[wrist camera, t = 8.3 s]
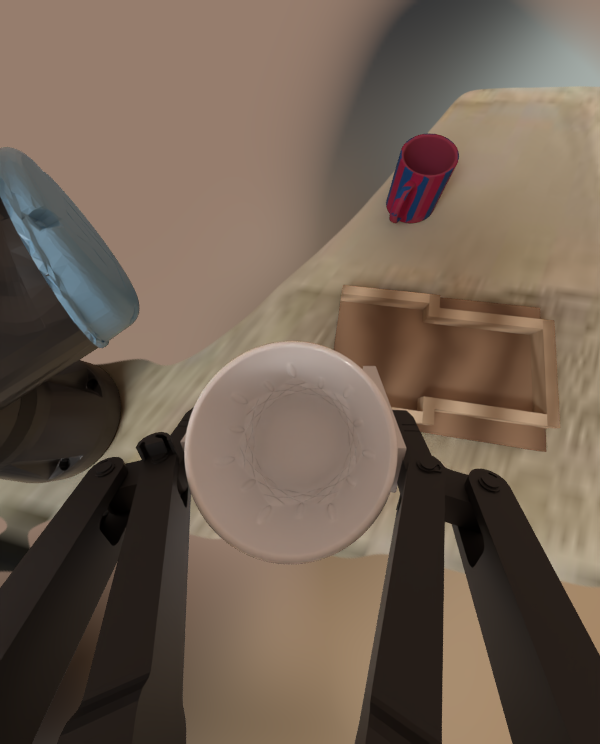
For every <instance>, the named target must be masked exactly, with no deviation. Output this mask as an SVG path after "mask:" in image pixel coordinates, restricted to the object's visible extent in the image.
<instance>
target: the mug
mask: <svg viewBox="0 0 600 744" xmlns="http://www.w3.org/2000/svg"><path fill="white" fill-rule="evenodd" d="M458 159H459V153H458V150H457V147H456V146H455V145H454V143H453V142H452V141H450V140H449V139H448V138H446V137H444V136H441V135H437V134H422V135H418V136H415V137H413V138H411V139H410V140H408V141H407V142H406V143H405V144H404V146H403V147H402V150H401V153H400V156H399V159H398V163H397V166H396V170H395V173H394V176H393V180H392V183H391V187H390V190H389V194H388V197H387V202H386V205H387V209H388V211H389V213H390V221H391V222H393V223H397V222H399V221H401V222H405V223H417V222H420V221H423V220H425V219H426V218H427V217H429V216H430V215H431V213H432V212H433V210H434V208H435V206H436V204H437V202H438V200H439V198H440V196H441V194H442V192H443V190H444V188H445V186H446V184H447V182H448V180H449V178H450V176H451V174H452V172H453V171H454V169H455V167H456V165H457V163H458Z"/></svg>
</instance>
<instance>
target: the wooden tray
mask: <svg viewBox="0 0 600 744" xmlns="http://www.w3.org/2000/svg"><path fill="white" fill-rule="evenodd" d="M334 350H335V351H337V352H339V353H341V354H342V355H344V356H346V357H347V358H349V359H350V360H352V361H353V362H354V363H356V364H357V365H358V366H359V367H360V368H362V369H363V366H376V368H377V371H378V374H379V376H380V379H381V382H382V384H383V387H384V390H385V392H386V395H387V398H388V400H389V403H390V406H391V408H392V410H406V411H408V412H409V413H410V414H411V415H412V416H413V417H414V419H415V421H416V424H417V426H418V428H419V430H420V432H424V433H430V434H437V435H443V436H449V437H455V438H461V439H468V440H474V441H480V442H486V443H492V444H499V445H505V446H511V447H517V448H523V449H530V450H536V451H544V452H546V432H545V428H560V414H559V396H558V379H557V361H556V343H555V326H554V320H545V319H541V318H540V308H536V307H526V306H517V305H507V304H498V303H488V302H479V301H469V300H460V299H450V298H441V297H440V295H435V294H425V293H416V292H406V291H396V290H387V289H377V288H368V287H358V286H348V285H343V288H342V295H341V302H340V309H339V316H338V323H337V330H336V337H335V344H334Z"/></svg>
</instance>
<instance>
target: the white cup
mask: <svg viewBox="0 0 600 744" xmlns="http://www.w3.org/2000/svg"><path fill="white" fill-rule="evenodd" d="M397 456H398V447H397V436H396V430H395V425H394V421H393V418H392V415H391V412H390V409H389V407H388V404H387V402H386V400H385V398H384V396H383V395H382V393H381V391H380V390H379V388H378V387H377V385H376V384H375V383H374V381H373V380H372V379H371V378H370V377H369V375H368V374H367V373H366V372H365V371H364V370H363V369H362V368H360V367H359V366H358V365H357V364H356V363H354V362H353V361H352V360H350V359H349V358H347V357H346V356H344V355H342V354H341V353H339V352H337V351H335V350H332V349H330V348H327V347H325V346H321V345H318V344H314V343H309V342H301V341H283V342H275V343H270V344H266V345H262V346H259V347H256V348H254V349H251V350H249V351H247V352H245V353H243V354H241V355H239V356H238V357H236V358H235V359H233V360H232V361H230V362H229V363H228V364H226V365H225V366H224V367H223V368H222V369H221V370H220V371H218V372H217V373H216V375H215V376H214V377H213V378H212V379H211V380H210V381H209V383H208V384H207V385H206V387H205V388H204V390H203V391H202V393H201V394H200V396H199V398H198V400H197V402H196V404H195V406H194V408H193V411H192V413H191V416H190V419H189V423H188V427H187V431H186V437H185V447H184V460H185V470H186V476H187V481H188V485H189V488H190V491H191V494H192V497H193V499H194V501H195V503H196V505H197V507H198V509H199V511H200V513H201V514H202V516H203V517H204V519H205V520H206V522H207V523H208V524H209V526H210V527H211V528H212V529H213V530H214V531H215V532H216V533H217V534H218V535H219V536H220V537H221V538H222V539H223V540H225V541H226V542H227V543H228V544H230V545H231V546H232V547H234V548H235V549H237V550H239V551H241V552H243V553H244V554H246V555H249V556H251V557H253V558H256V559H259V560H263V561H266V562H271V563H277V564H303V563H309V562H314V561H317V560H321V559H324V558H327V557H329V556H332V555H334V554H336V553H338V552H340V551H341V550H343V549H345V548H346V547H348V546H349V545H351V544H352V543H354V542H355V541H356V540H357V539H358V538H360V537H361V536H362V535H363V534H364V533H365V532H366V531H367V530H368V529H369V528H370V526H371V525H372V524H373V523H374V521H375V520H376V519H377V517H378V516H379V514H380V512H381V511H382V509H383V507H384V505H385V503H386V501H387V499H388V497H389V494H390V492H391V489H392V486H393V482H394V478H395V474H396V468H397Z"/></svg>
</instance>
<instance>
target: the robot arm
mask: <svg viewBox="0 0 600 744" xmlns="http://www.w3.org/2000/svg"><path fill="white" fill-rule="evenodd" d="M138 314H139V301H138V297H137V295H136V292H135V290H134V288H133V286H132V284H131V282H130V280H129V278H128V277H127V275H126V273H125V272H124V270H123V269H122V267H121V265H120V264H119V262H118V261H117V259H116V258H115V256H114V255H113V253H112V252H111V251H110V249H109V248H108V246H107V245H106V243H105V242H104V241H103V239H102V238H101V237H100V235H99V234H98V233H97V231H96V230H95V229H94V227H93V226H92V225H91V224H90V222H89V221H88V220H87V219H86V217H85V216H84V215H83V214H82V212H81V211H80V210H79V209H78V207H77V206H76V205H75V204H74V203H73V201H72V200H71V199H70V198H69V197H68V196H67V195H66V194H65V192H64V191H63V190H62V189H61V188H60V187H59V186H58V184H57V183H56V182H55V181H54V180H53V179H52V178H51V177H50V176H49V175H48V174H46V173H45V172H43V171H42V170H41V169H40V167H39V166H38V165H37V164H36V163H35V162H34V161H33V160H32V159H31V158H29V157H28V156H27V155H26V154H24V153H23V152H21V151H19V150H17V149H14V148H10V147H4V148H0V479H5V480H11V481H18V482H25V483H44V482H50V481H56V480H61V479H66V478H69V477H72V476H75V475H77V474H79V473H81V472H83V471H84V470H86V469H87V468H89V467H90V466H91V465H93V464H94V463H95V462H96V461H97V460H98V459H99V458H100V457H101V456H102V455H103V453H104V452H105V451H106V449H107V448H108V446H109V445H110V443H111V441H112V439H113V437H114V435H115V433H116V430H117V427H118V424H119V419H120V410H121V405H120V396H119V392H118V389H117V387H116V385H115V383H114V381H113V380H112V378H111V377H110V376H109V375H108V374H107V373H106V372H105V371H104V370H103V369H101V368H100V367H98V366H96V365H93V364H91V363H87V362H84V361H81V360H80V359H81V358H83V357H84V356H86V355H87V354H89V353H91V352H92V351H94V350H95V349H97V348H98V347H99V348H104V347H106V346H107V345H108V343H109V340H111V339H112V338H113V337H115V336H116V335H118V334H119V333H120V332H122V331H123V330H124V329H126V328H127V327H129V326H130V325H131V324H133V323H134V321H135V320H136V319H137V317H138ZM363 370H364V371H365V372H366V373H367V374H368V375H369V377H370V378H371V379H372V380H373V381H374V383H375V384H376V385H377V387H378V388H379V390H380V391H381V393H382V395H383V396H384V398H385V400H386V402H387V404H388V407H389V409H390V412H391V415H392V418H393V421H394V425H395V430H396V436H397V447H398V456H397V468H396V474H395V478H394V482H393V486H392V489H391V492H396V489H397V485H398V487H399V491H400V497H399V501H398V505H397V509H396V510H397V513H396V518H395V524H394V530H393V535H392V541H391V547H390V552H389V558H388V564H387V570H386V575H385V581H384V586H383V592H382V598H381V604H380V609H379V615H378V620H377V626H376V632H375V637H374V643H373V649H372V654H371V660H370V665H369V671H368V677H367V682H366V688H365V694H364V699H363V705H362V711H361V716H360V721H359V726H358V731H357V735H356V740H355V744H442V670H443V601H444V531H445V522H448V523H451V524H452V527H453V530H454V534H455V538H456V541H457V545H458V549H459V552H460V556H461V559H462V563H463V567H464V570H465V574H466V577H467V581H468V584H469V588H470V591H471V595H472V599H473V602H474V606H475V610H476V613H477V617H478V621H479V624H480V627H481V631H482V635H483V639H484V642H485V646H486V650H487V653H488V657H489V660H490V664H491V667H492V671H493V675H494V678H495V682H496V685H497V689H498V693H499V696H500V700H501V704H502V707H503V711H504V714H505V718H506V722H507V725H508V729H509V732H510V736H511V740H512V743H513V744H600V655H599V653H598V652H597V649H596V648H595V646H594V644H593V642H592V640H591V638H590V636H589V634H588V633H587V631H586V629H585V627H584V625H583V623H582V621H581V619H580V618H579V616H578V614H577V612H576V610H575V608H574V606H573V605H572V603H571V601H570V599H569V597H568V595H567V593H566V591H565V590H564V588H563V586H562V584H561V582H560V580H559V578H558V576H557V574H556V573H555V571H554V569H553V567H552V565H551V563H550V561H549V559H548V558H547V556H546V554H545V552H544V550H543V548H542V546H541V544H540V542H539V541H538V539H537V537H536V535H535V533H534V531H533V529H532V527H531V526H530V524H529V522H528V520H527V518H526V516H525V514H524V512H523V511H522V509H521V507H520V505H519V503H518V501H517V499H516V497H515V496H514V494H513V492H512V490H511V488H510V486H509V485H508V484H507V482H506V481H505V480H504V479H503V478H501V477H500V476H499V475H497V474H495V473H493V472H491V471H489V470H485V469H474V470H472V471H471V472H470V473H469V475H466V474H463V473H459V472H456V471H452V470H450V469H447V468H445V467H444V466H443V464H442V463H441V462H440V461H439V460H438V459H436V458H435V457H433V456H432V455H431V453H430V451H429V449H428V447H427V445H426V443H425V441H424V438H423V436H422V434H421V432H420V430H419V428H418V426H417V424H416V421H415V419H414V417H413V416H412V415H411V414H410V413H409V412H408V411H406V410H392V408H391V406H390V403H389V400H388V398H387V395H386V392H385V390H384V387H383V384H382V382H381V379H380V376H379V374H378V371H377V368H376V366H363ZM193 408H194V407H193ZM193 408H192V409H191V410H190V411H188V412H187V413H186V414H185V415H184V417H183V418H182V420H181V421H180V423H179V424H178V425H177V427H176V428H175V430H174V431H173V433H172V434H171V435H169V434H167V433H164V432H158V433H154V434H151V435H148V436H147V437H145V438H143V439H142V440H141V441H140V442H139V443H138V445H137V446H136V449H137V451H138V453H139V455H140V457H141V459H142V460H140V461H136V462H131V463H127V464H125V463H124V461H123V459H121V458H119V457H111V458H107V459H105V460H102V461H100V462H99V463H97V464H96V465H94V466H93V467H92V468H91V469H90V470H89V471H88V472H87V474H86V475H85V476H84V478H83V479H82V480H81V482H80V483H79V484H78V486H77V487H76V488H75V490H74V491H73V492H72V494H71V495H70V496H69V498H68V499H67V500H66V502H65V503H64V504H63V506H62V507H61V508H60V510H59V511H58V512H57V514H56V515H55V516H54V518H53V519H52V520H51V521H50V523H49V524H48V525H47V527H46V528H45V530H44V531H43V532H42V533H41V535H40V536H39V537H38V539H37V540H36V541H35V543H34V544H33V546H32V547H31V548H30V549H29V551H28V552H27V553H26V555H25V556H24V557H23V559H22V560H21V561H20V563H19V564H18V565H17V567H16V568H15V569H14V571H13V572H12V573H11V574H10V576H9V577H8V579H7V580H6V581H5V582H4V584H3V585H2V586H1V588H0V744H32V742H33V740H34V738H35V736H36V734H37V732H38V730H39V727H40V725H41V723H42V721H43V719H44V717H45V715H46V713H47V710H48V708H49V706H50V704H51V702H52V700H53V698H54V695H55V693H56V691H57V689H58V687H59V685H60V683H61V681H62V678H63V676H64V674H65V672H66V670H67V668H68V666H69V663H70V661H71V659H72V657H73V655H74V653H75V651H76V649H77V646H78V644H79V642H80V640H81V638H82V636H83V633H84V631H85V629H86V627H87V625H88V623H89V621H90V619H91V617H92V614H93V612H94V610H95V608H96V606H97V604H98V602H99V599H100V597H101V595H102V593H103V591H104V589H105V587H106V585H107V582H108V580H109V578H110V576H111V574H112V572H113V570H114V567H115V565H116V563H117V567H116V570H115V574H114V579H113V582H112V586H111V590H110V594H109V598H108V602H107V606H106V610H105V614H104V618H103V622H102V626H101V630H100V634H99V638H98V642H97V646H96V650H95V654H94V658H93V662H92V666H91V670H90V674H89V678H88V682H87V686H86V690H85V693H84V697H83V700H82V703H81V705H80V707H79V709H78V710H77V711H76V713H75V714H74V715H73V716H72V717H71V719H70V720H69V721H68V722H67V723H66V725H65V727H64V729H63V731H62V733H61V735H60V737H59V740H58V743H57V744H186V721H185V714H184V708H183V697H182V696H183V695H182V694H183V668H184V645H185V644H184V643H185V620H186V595H187V573H188V549H189V525H190V501H191V491H190V488H189V485H188V481H187V476H186V470H185V460H184V447H185V437H186V431H187V427H188V423H189V419H190V416H191V413H192V411H193ZM117 561H118V562H117Z"/></svg>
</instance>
